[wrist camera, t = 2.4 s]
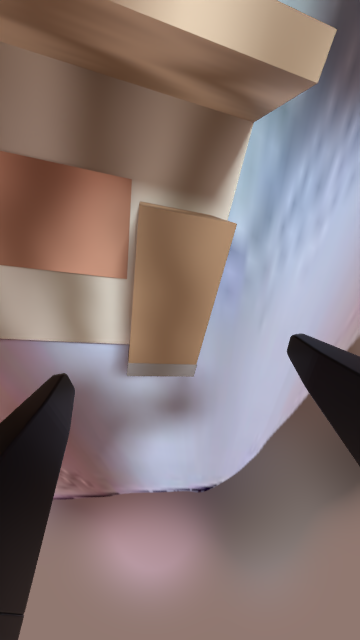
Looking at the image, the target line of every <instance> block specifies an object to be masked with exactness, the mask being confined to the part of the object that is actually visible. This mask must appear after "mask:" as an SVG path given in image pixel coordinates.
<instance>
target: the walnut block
mask: <svg viewBox="0 0 360 640" xmlns="http://www.w3.org/2000/svg"><path fill="white" fill-rule="evenodd" d="M236 225H237V224H235V223H233V222H230V221H227V220H224V219H221V218H218V217H215V216H212V215H208V214H203V213H198V212H193V211H188V210H183V209H177V208H172V207H167V206H162V205H157V204H152V203H147V202H142V201H140V204H139V215H138V229H137V244H136V259H135V274H134V289H133V304H132V319H131V331H130V343H129V354H128V367H127V376H186V377H194V373H195V370H196V367H197V364H196V363H197V360H198V356H199V353H200V349H201V346H202V342H203V339H204V336H205V332H206V329H207V325H208V322H209V318H210V315H211V311H212V308H213V305H214V301H215V298H216V294H217V291H218V287H219V284H220V280H221V277H222V274H223V270H224V267H225V263H226V260H227V256H228V253H229V249H230V246H231V243H232V239H233V236H234V232H235V229H236Z"/></svg>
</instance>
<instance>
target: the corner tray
mask: <svg viewBox="0 0 360 640" xmlns="http://www.w3.org/2000/svg"><path fill="white" fill-rule="evenodd" d="M336 31H337V29H335V28H333V27H331V26H329V25H327V24H325V23H323V22H321V21H319V20H317V19H315V18H312V17H310V16H308V15H306V14H304V13H302V12H300V11H298V10H296V9H294V8H292V7H290V6H287V5H285V4H283V3H281V2H279V1H277V0H0V339H18V340H41V341H65V342H88V343H111V344H129V343H130V331H131V319H132V304H133V289H134V274H135V259H136V244H137V229H138V215H139V204H140V201H142V202H147V203H152V204H157V205H162V206H167V207H172V208H177V209H183V210H188V211H193V212H198V213H203V214H208V215H212V216H215V217H218V218H221V219H224V220H228V216H229V213H230V209H231V205H232V201H233V198H234V194H235V190H236V186H237V183H238V179H239V175H240V172H241V168H242V164H243V160H244V157H245V153H246V149H247V145H248V142H249V138H250V134H251V131H252V127H253V123H254V122H255V121H257V120H258V119H260V118H262V117H263V116H265V115H267V114H268V113H270V112H271V111H273V110H275V109H276V108H278V107H280V106H281V105H283V104H284V103H286V102H288V101H289V100H291V99H293V98H294V97H296V96H297V95H299V94H301V93H302V92H304V91H306V90H307V89H309V88H311V87H312V86H314V85H315V84H317V83H318V80H319V78H320V75H321V72H322V69H323V67H324V64H325V61H326V58H327V56H328V53H329V50H330V47H331V44H332V42H333V39H334V36H335V33H336Z"/></svg>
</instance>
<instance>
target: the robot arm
mask: <svg viewBox="0 0 360 640" xmlns="http://www.w3.org/2000/svg"><path fill="white" fill-rule="evenodd" d="M287 354H288V356H289V358H290V360H291V362H292V364H293V366H294V367H295V369H296V371H297V373H298V375H299V376H300V378H301V380H302V382H303V384H304V385H305V387H306V389H307V390H308V392H309V393H310V395H311V396H312V398H313V399H314V400H315V402H316V403H317V405H318V406H319V408H320V409H321V411H322V412H323V414H324V415H325V417H326V418H327V420H328V421H329V422H330V424H331V425H332V426H333V428H334V430H335V431H336V433H337V434H338V435H339V437H340V438H341V440H342V441H343V443H344V444H345V446H346V447H347V449H348V450H349V452H350V453H351V454H352V456H353V457H354V459H355V460H356V462H357V463H358V465H359V466H360V357H359V356H357V355H354V354H352V353H349V352H347V351H345V350H342V349H340V348H337V347H335V346H332V345H330V344H327V343H325V342H322V341H320V340H317V339H315V338H312V337H310V336H307V335H305V334H295V335H292V336H291V337H290V341H289V345H288V348H287ZM74 395H75V389H74V386H73V384H72V383H71V381H70V379H69V377H68V375H67V374H65V373H62V374H56V375H53V376H52V377H51V378H50V379H48V380H47V381H46V382H45V383H44V384H43V385H42V386H41V387H40V388H39V389H37V390H36V391H35V392H34V393H33V394H32V395H31V396H30V397H29V398H28V399H26V400H25V401H24V402H23V403H22V404H21V405H20V406H19V407H18V408H17V409H15V410H14V411H13V412H12V413H11V414H10V415H9V416H8V417H7V418H6V419H4V420H3V421H2V422H1V423H0V640H18V637H19V634H20V629H21V626H22V622H23V618H24V615H23V614H24V612H25V609H26V604H27V601H28V596H29V593H30V588H31V585H32V581H33V577H34V573H35V569H36V565H37V560H38V557H39V553H40V549H41V545H42V540H43V536H44V533H45V529H46V525H47V521H48V517H49V513H50V509H51V504H52V501H53V497H54V493H55V488H56V484H57V480H58V476H59V472H60V468H61V464H62V460H63V456H64V452H65V448H66V444H67V440H68V436H69V431H70V425H71V417H72V410H73V403H74Z"/></svg>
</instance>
